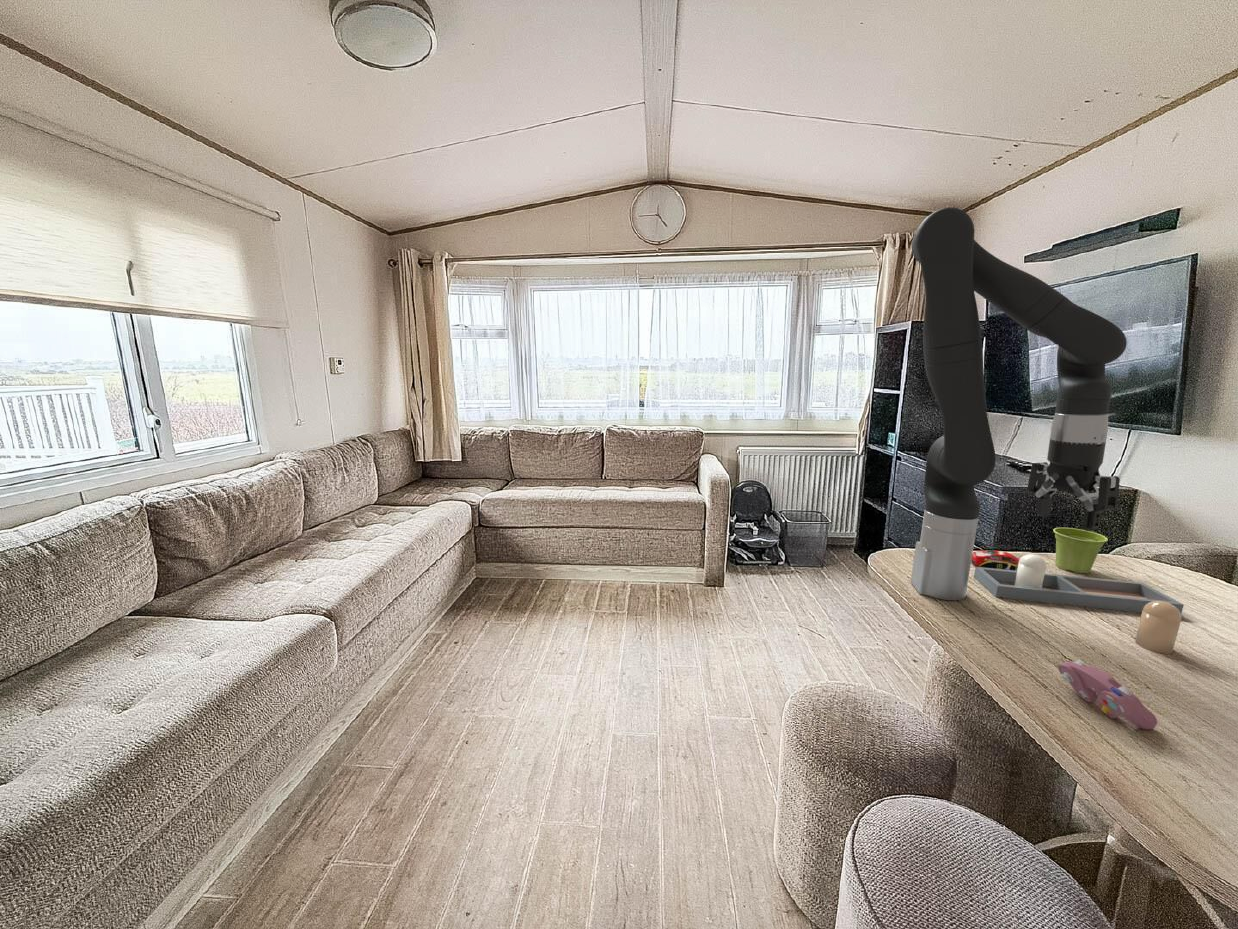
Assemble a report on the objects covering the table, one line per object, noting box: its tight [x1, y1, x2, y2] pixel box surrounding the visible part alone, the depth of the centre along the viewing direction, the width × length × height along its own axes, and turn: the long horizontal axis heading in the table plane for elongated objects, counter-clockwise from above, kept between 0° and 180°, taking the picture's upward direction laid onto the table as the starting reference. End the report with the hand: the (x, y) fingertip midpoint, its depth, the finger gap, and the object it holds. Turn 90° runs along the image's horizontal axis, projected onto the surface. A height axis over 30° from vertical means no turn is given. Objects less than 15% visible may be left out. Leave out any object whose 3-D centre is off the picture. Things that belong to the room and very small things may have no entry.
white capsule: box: [1013, 553, 1047, 589], centre depth 103 cm, size 4×4×8 cm
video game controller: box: [1057, 659, 1158, 731], centre depth 68 cm, size 10×5×7 cm, turn 5°
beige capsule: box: [1134, 601, 1182, 655], centre depth 83 cm, size 4×4×8 cm
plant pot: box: [1052, 527, 1109, 574], centre depth 115 cm, size 9×9×9 cm
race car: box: [971, 549, 1021, 571], centre depth 116 cm, size 13×5×4 cm, turn 65°
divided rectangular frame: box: [973, 566, 1184, 614], centre depth 102 cm, size 31×10×2 cm, turn 76°
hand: (1065, 522), depth 92 cm, fingers open, 8 cm apart
